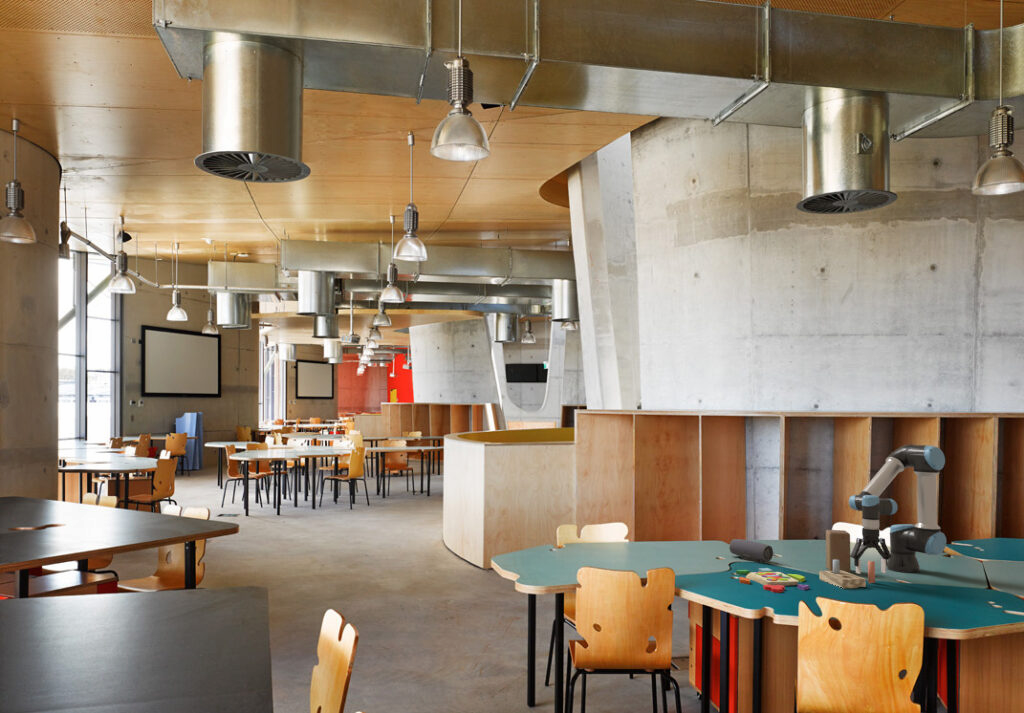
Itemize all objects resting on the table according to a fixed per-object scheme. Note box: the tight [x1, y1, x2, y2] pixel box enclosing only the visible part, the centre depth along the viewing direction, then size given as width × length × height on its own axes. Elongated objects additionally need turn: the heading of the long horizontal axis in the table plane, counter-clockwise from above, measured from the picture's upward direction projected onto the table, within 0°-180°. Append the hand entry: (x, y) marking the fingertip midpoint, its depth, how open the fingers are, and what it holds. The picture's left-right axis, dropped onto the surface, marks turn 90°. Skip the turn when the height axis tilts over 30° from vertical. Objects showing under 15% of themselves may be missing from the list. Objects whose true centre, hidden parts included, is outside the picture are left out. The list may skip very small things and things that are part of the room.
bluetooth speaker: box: [728, 538, 774, 562], centre depth 413 cm, size 23×9×10 cm, turn 34°
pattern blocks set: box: [735, 567, 810, 594], centre depth 363 cm, size 38×34×3 cm
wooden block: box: [825, 529, 851, 574], centre depth 387 cm, size 10×10×20 cm
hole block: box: [818, 570, 867, 589], centre depth 360 cm, size 12×18×4 cm, turn 11°
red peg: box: [867, 560, 876, 584], centre depth 362 cm, size 3×3×10 cm
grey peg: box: [833, 560, 840, 574], centre depth 364 cm, size 3×3×10 cm
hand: (870, 573), depth 362 cm, fingers open, 13 cm apart
